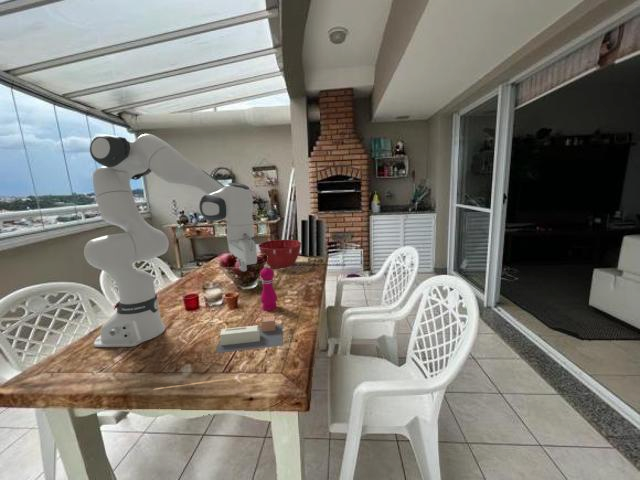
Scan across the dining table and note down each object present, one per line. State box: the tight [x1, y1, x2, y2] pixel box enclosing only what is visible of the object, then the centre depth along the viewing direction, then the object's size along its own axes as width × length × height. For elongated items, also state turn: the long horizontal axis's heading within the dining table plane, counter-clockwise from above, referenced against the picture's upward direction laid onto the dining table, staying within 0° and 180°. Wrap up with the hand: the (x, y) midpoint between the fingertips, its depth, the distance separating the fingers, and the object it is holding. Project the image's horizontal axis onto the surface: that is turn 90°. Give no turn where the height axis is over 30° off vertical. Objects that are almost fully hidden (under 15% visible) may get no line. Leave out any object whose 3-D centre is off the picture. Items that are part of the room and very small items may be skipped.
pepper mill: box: [259, 264, 278, 312], centre depth 125 cm, size 7×7×20 cm
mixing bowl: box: [258, 239, 302, 270], centre depth 191 cm, size 28×28×16 cm
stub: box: [260, 315, 276, 332], centre depth 107 cm, size 5×4×4 cm
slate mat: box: [215, 324, 284, 354], centre depth 102 cm, size 22×15×1 cm
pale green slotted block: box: [219, 324, 261, 346], centre depth 100 cm, size 13×4×4 cm, turn 99°
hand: (243, 270), depth 100 cm, fingers closed
